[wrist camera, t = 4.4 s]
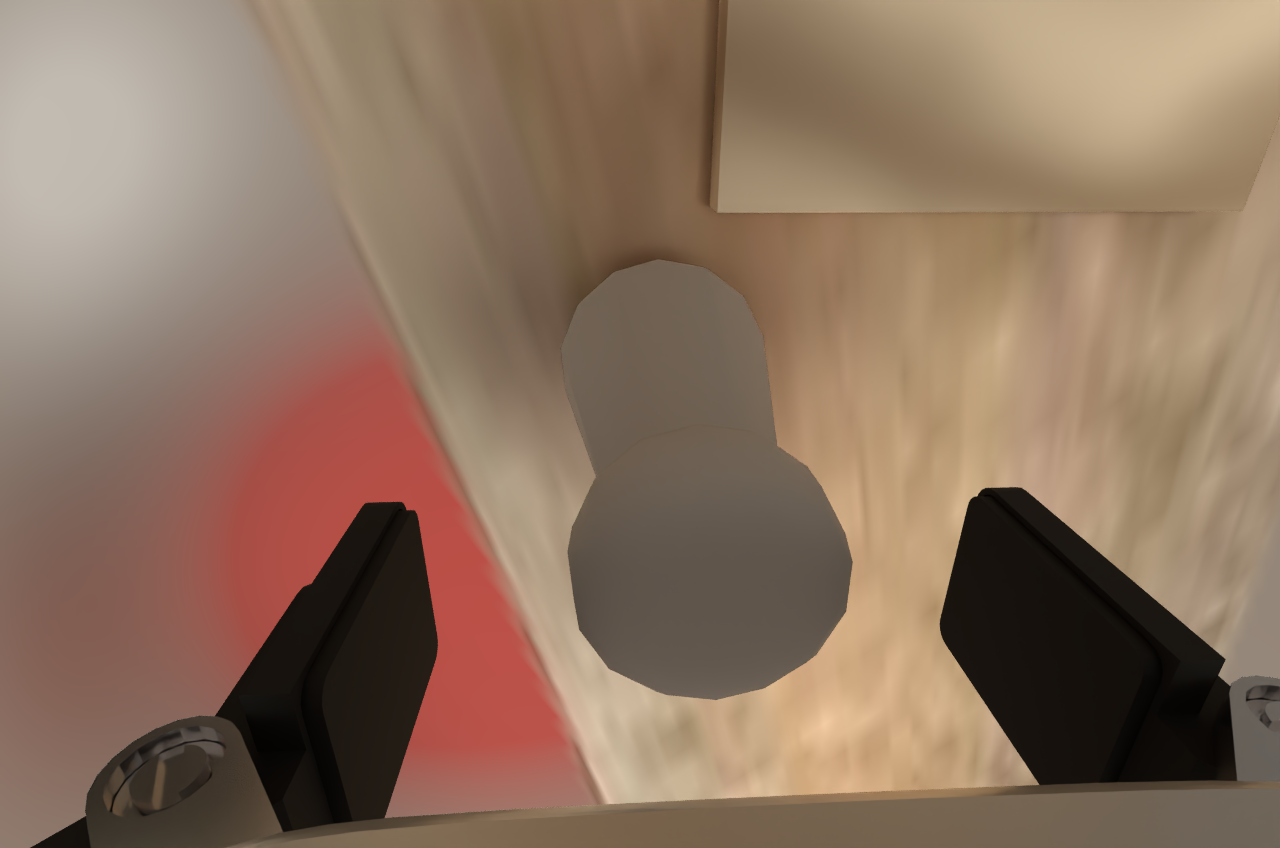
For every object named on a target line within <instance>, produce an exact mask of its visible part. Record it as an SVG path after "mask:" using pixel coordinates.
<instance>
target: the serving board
mask: <svg viewBox="0 0 1280 848" xmlns="http://www.w3.org/2000/svg"><path fill="white" fill-rule="evenodd" d="M1279 117H1280V0H719V15H718V36H717V57H716V79H715V100H714V122H713V143H712V165H711V186H710V207H711V208H712V209H713V210H714V211H716V212H717V213H886V212H1184V211H1243V210H1244V207H1245V205H1246V202H1247V199H1248V197H1249V194H1250V192H1251V189H1252V186H1253V184H1254V181H1255V179H1256V176H1257V174H1258V171H1259V168H1260V166H1261V163H1262V161H1263V158H1264V155H1265V153H1266V150H1267V148H1268V145H1269V143H1270V140H1271V137H1272V135H1273V132H1274V130H1275V127H1276V124H1277V122H1278V119H1279Z"/></svg>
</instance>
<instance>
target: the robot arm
mask: <svg viewBox="0 0 1280 848" xmlns="http://www.w3.org/2000/svg"><path fill="white" fill-rule="evenodd" d="M940 631H941V635H942V638H943V640H944V642H945V644H946V646H947V647H948V649H949V650H950V652H951V653H952V655H953V656H954V658H955V659H956V661H957V662H958V664H959V665H960V667H961V668H962V670H963V671H964V672H965V674H966V675H967V677H968V678H969V680H970V681H971V683H972V684H973V686H974V687H975V689H976V690H977V692H978V693H979V695H980V696H981V698H982V699H983V701H984V702H985V704H986V705H987V707H988V708H989V710H990V711H991V713H992V714H993V716H994V717H995V719H996V720H997V722H998V723H999V725H1000V726H1001V728H1002V729H1003V731H1004V732H1005V734H1006V735H1007V737H1008V738H1009V740H1010V741H1011V743H1012V744H1013V746H1014V747H1015V749H1016V750H1017V752H1018V753H1019V755H1020V756H1021V758H1022V759H1023V761H1024V762H1025V764H1026V765H1027V767H1028V768H1029V770H1030V771H1031V773H1032V774H1033V776H1034V777H1035V779H1036V780H1037V782H1038V783H1039V785H1030V786H1005V787H979V788H954V789H928V790H905V791H882V792H859V793H837V794H814V795H792V796H770V797H749V798H727V799H705V800H685V801H666V802H646V803H627V804H607V805H587V806H568V807H548V808H529V809H512V810H496V811H483V812H482V811H481V812H466V813H452V814H438V815H423V816H408V817H393V818H385V815H386V812H387V809H388V806H389V803H390V799H391V796H392V793H393V790H394V787H395V784H396V781H397V778H398V775H399V772H400V769H401V765H402V762H403V759H404V756H405V753H406V750H407V747H408V744H409V741H410V738H411V735H412V731H413V728H414V725H415V722H416V719H417V716H418V713H419V710H420V707H421V704H422V700H423V698H424V695H425V691H426V688H427V685H428V682H429V679H430V676H431V673H432V670H433V667H434V663H435V660H436V656H437V648H438V639H437V632H436V625H435V619H434V613H433V608H432V601H431V594H430V588H429V582H428V576H427V570H426V564H425V558H424V552H423V545H422V539H421V533H420V527H419V521H418V516H417V513H416V512H415V511H414V510H406V507H405V505H404V504H403V503H402V502H379V503H378V502H377V503H365V504H364V505H363V506H362V508H361V509H360V511H359V513H358V514H357V516H356V517H355V519H354V520H353V522H352V523H351V525H350V526H349V528H348V529H347V531H346V532H345V534H344V535H343V537H342V538H341V540H340V541H339V543H338V544H337V546H336V548H335V549H334V551H333V552H332V554H331V555H330V557H329V558H328V560H327V561H326V563H325V564H324V566H323V567H322V569H321V571H320V572H319V573H318V575H317V576H316V578H315V579H314V581H313V583H312V584H309V585H307V586H304V587H303V588H302V589H301V590H300V591H299V592H298V594H297V595H296V597H295V598H294V600H293V601H292V602H291V604H290V605H289V607H288V609H287V610H286V611H285V613H284V614H283V616H282V617H281V619H280V620H279V622H278V623H277V625H276V626H275V628H274V629H273V631H272V632H271V634H270V635H269V637H268V638H267V640H266V641H265V643H264V644H263V646H262V647H261V648H260V650H259V652H258V653H257V654H256V656H255V657H254V659H253V660H252V662H251V663H250V665H249V666H248V668H247V670H246V671H245V672H244V674H243V675H242V677H241V678H240V680H239V681H238V683H237V684H236V686H235V687H234V689H233V690H232V692H231V693H230V695H229V696H228V698H227V699H226V700H225V702H224V703H223V705H222V706H221V708H220V710H219V711H218V713H217V714H216V715H215V716H196V717H190V718H185V719H181V720H177V721H174V722H172V723H169V724H166V725H164V726H161V727H159V728H156V729H154V730H152V731H151V732H149V733H147V734H145V735H144V736H142V737H140V738H138V739H137V740H135V741H133V742H132V743H131V744H129V745H128V746H127V747H126V748H124V749H123V750H122V751H120V752H119V753H118V754H117V755H115V756H114V757H113V758H112V759H111V760H110V761H109V762H108V764H107V765H106V766H105V767H104V768H103V769H102V770H101V772H100V773H99V774H98V775H97V776H96V778H95V780H94V782H93V784H92V786H91V788H90V790H89V791H88V793H87V799H86V807H85V813H86V816H85V817H84V818H82V819H80V820H78V821H77V822H75V823H73V824H71V825H70V826H68V827H66V828H64V829H63V830H61V831H59V832H57V833H55V834H54V835H52V836H50V837H48V838H47V839H45V840H43V841H41V842H40V843H38V844H36V845H35V846H33V847H31V848H1280V679H1278V678H1271V677H1263V676H1249V677H1241V678H1240V679H1238V680H1237V681H1235V682H1233V683H1232V684H1231V686H1229V685H1228V684H1227V683H1226V682H1225V681H1224V680H1222V679H1221V678H1220V677H1219V676H1218V674H1219V672H1220V670H1221V668H1222V666H1223V664H1224V662H1225V660H1226V659H1225V658H1223V657H1222V656H1221V655H1220V654H1219V653H1217V652H1216V651H1215V650H1214V649H1213V648H1212V647H1210V646H1209V645H1208V644H1207V643H1206V642H1204V641H1203V640H1202V639H1201V638H1200V637H1199V636H1197V635H1196V634H1195V633H1194V632H1193V631H1191V630H1190V629H1189V628H1188V627H1187V626H1186V625H1184V624H1183V623H1182V622H1181V621H1180V620H1178V619H1177V618H1176V617H1175V616H1174V615H1172V614H1171V613H1170V612H1169V611H1168V610H1167V609H1165V608H1164V607H1163V606H1162V605H1161V604H1159V603H1158V602H1157V601H1156V600H1155V599H1154V598H1152V597H1151V596H1150V595H1149V594H1148V593H1146V592H1145V591H1144V590H1143V589H1142V588H1141V587H1139V586H1138V585H1137V584H1136V583H1135V582H1133V581H1132V580H1131V579H1130V578H1129V577H1128V576H1126V575H1125V574H1124V573H1123V572H1122V571H1120V570H1119V569H1118V568H1117V567H1116V566H1114V565H1113V564H1112V563H1111V562H1110V561H1109V560H1107V559H1106V558H1105V557H1104V556H1103V555H1101V554H1100V553H1099V552H1098V551H1097V550H1096V549H1094V548H1093V547H1092V546H1091V545H1090V544H1088V543H1087V542H1086V541H1085V540H1084V539H1083V538H1081V537H1080V536H1079V535H1078V534H1077V533H1075V532H1074V531H1073V530H1072V529H1071V528H1070V527H1068V526H1067V525H1066V524H1065V523H1064V522H1062V521H1061V520H1060V519H1059V518H1058V517H1057V516H1055V515H1054V514H1053V513H1052V512H1051V511H1049V510H1048V509H1047V508H1046V507H1045V506H1043V505H1042V504H1041V503H1040V502H1039V501H1038V500H1036V499H1035V498H1034V497H1033V496H1032V495H1030V494H1029V493H1028V492H1027V491H1026V490H1024V489H1022V488H1018V487H1009V488H985V489H983V490H981V492H980V493H979V494H978V497H973V498H972V499H971V500H970V502H969V504H968V508H967V512H966V516H965V520H964V524H963V528H962V532H961V536H960V540H959V545H958V549H957V553H956V557H955V561H954V565H953V569H952V573H951V577H950V582H949V586H948V590H947V594H946V598H945V602H944V606H943V610H942V614H941V619H940Z"/></svg>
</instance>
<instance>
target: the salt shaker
mask: <svg viewBox="0 0 1280 848" xmlns="http://www.w3.org/2000/svg"><path fill="white" fill-rule="evenodd" d="M561 355H562V364H563V373H564V381H565V390H566V393H567V396H568V399H569V402H570V404H571V407H572V410H573V413H574V416H575V418H576V421H577V424H578V427H579V430H580V432H581V435H582V438H583V441H584V443H585V446H586V449H587V452H588V455H589V457H590V460H591V463H592V466H593V469H594V471H595V474H596V478H595V480H594V481H593V484H592V486H591V488H590V490H589V492H588V494H587V496H586V499H585V501H584V503H583V505H582V507H581V509H580V511H579V514H578V516H577V518H576V520H575V522H574V524H573V526H572V530H571V536H570V541H569V547H568V559H569V566H570V574H571V581H572V589H573V596H574V603H575V609H576V614H577V620H578V625H579V630H580V631H581V632H582V634H583V635H584V636H585V638H586V639H587V640H588V642H589V643H590V644H591V646H592V647H593V648H594V650H595V651H596V652H597V653H598V655H599V656H600V657H601V659H602V660H603V661H604V663H605V664H606V665H607V667H608V668H609V669H611V670H613V671H615V672H617V673H619V674H621V675H623V676H625V677H627V678H629V679H631V680H634V681H636V682H638V683H640V684H642V685H644V686H646V687H648V688H650V689H652V690H654V691H656V692H659V693H663V694H666V695H673V696H683V697H693V698H703V699H712V700H718V699H722V698H726V697H730V696H734V695H738V694H742V693H746V692H750V691H755V690H759V689H763V688H766V687H767V686H769V685H770V684H772V683H774V682H775V681H777V680H779V679H780V678H782V677H783V676H785V675H787V674H788V673H790V672H791V671H793V670H795V669H796V668H798V667H800V666H801V665H803V664H804V663H806V662H807V661H809V660H810V659H811V658H813V657H814V656H815V655H816V654H817V653H818V651H819V650H820V649H821V647H822V646H823V644H824V643H825V641H826V640H827V638H828V637H829V635H830V634H831V633H832V631H833V630H834V628H835V627H836V625H837V624H838V622H839V621H840V619H841V618H842V617H843V615H844V614H845V612H846V608H847V600H848V593H849V585H850V577H851V570H852V558H851V554H850V550H849V546H848V542H847V538H846V534H845V532H844V530H843V528H842V526H841V524H840V522H839V520H838V518H837V516H836V514H835V512H834V510H833V508H832V506H831V504H830V502H829V500H828V499H827V497H826V495H825V493H824V491H823V489H822V487H821V485H820V484H819V482H818V481H817V480H816V478H815V477H814V475H813V474H812V473H811V471H810V470H809V468H808V467H807V466H806V465H804V464H803V463H801V462H800V461H798V460H797V459H796V458H794V457H793V456H791V455H790V454H788V453H787V452H785V451H784V450H783V449H781V448H780V447H778V446H777V440H776V433H775V425H774V417H773V409H772V401H771V393H770V385H769V378H768V370H767V362H766V354H765V346H764V338H763V335H762V333H761V331H760V329H759V327H758V324H757V322H756V320H755V318H754V316H753V314H752V312H751V310H750V308H749V306H748V304H747V302H746V300H745V298H744V296H743V295H741V294H740V293H739V292H737V291H736V290H735V289H733V288H732V287H731V286H729V285H728V284H727V283H726V282H724V281H723V280H722V279H720V278H719V277H718V276H716V275H715V274H714V273H712V272H711V271H710V270H708V269H707V268H705V267H701V266H696V265H690V264H684V263H678V262H672V261H666V260H660V259H656V260H653V261H649V262H646V263H643V264H639V265H636V266H632V267H629V268H625V269H622V270H618V271H615V272H613V273H612V274H611V275H610V276H609V277H607V278H606V279H605V280H604V281H603V282H602V283H601V284H600V285H599V286H598V287H596V288H595V289H594V290H593V291H592V292H591V293H590V294H589V295H588V296H586V297H585V298H584V299H583V300H582V301H581V302H580V303H579V304H578V306H577V308H576V311H575V313H574V316H573V318H572V321H571V323H570V326H569V328H568V331H567V333H566V336H565V339H564V341H563V344H562V346H561Z"/></svg>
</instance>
